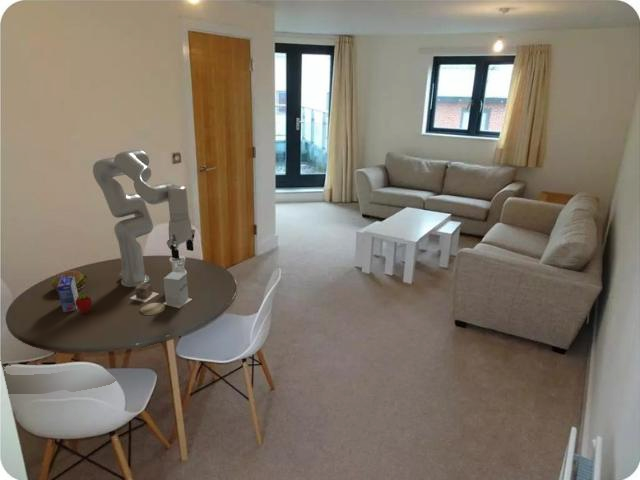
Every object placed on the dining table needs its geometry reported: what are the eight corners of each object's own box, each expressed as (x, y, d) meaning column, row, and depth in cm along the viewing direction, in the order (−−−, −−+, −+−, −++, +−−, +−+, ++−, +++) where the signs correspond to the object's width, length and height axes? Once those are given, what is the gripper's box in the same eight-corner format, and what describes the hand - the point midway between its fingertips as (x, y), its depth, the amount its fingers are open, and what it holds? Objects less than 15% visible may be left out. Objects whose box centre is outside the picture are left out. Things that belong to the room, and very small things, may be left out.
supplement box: (181, 306, 189) (178, 279, 185) (165, 304, 191) (162, 278, 186) (189, 298, 196) (186, 272, 192) (174, 296, 198) (171, 271, 193)
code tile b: (129, 298, 196) (129, 298, 195) (144, 290, 203) (144, 289, 203) (145, 302, 192) (145, 302, 192) (159, 294, 200) (159, 293, 200)
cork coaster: (135, 312, 184) (134, 311, 184) (151, 302, 193) (151, 301, 193) (153, 317, 181) (153, 316, 180) (170, 306, 189) (169, 305, 189)
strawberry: (77, 319, 178) (73, 297, 175) (77, 311, 184) (73, 289, 181) (94, 316, 181) (90, 294, 177) (93, 308, 187) (89, 287, 184)
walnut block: (136, 298, 196) (135, 288, 194) (142, 293, 200) (140, 283, 199) (146, 298, 195) (145, 288, 193) (152, 293, 200) (151, 284, 198)
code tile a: (162, 304, 191) (162, 303, 191) (176, 295, 199) (176, 295, 199) (179, 308, 188) (179, 307, 188) (192, 299, 196) (192, 298, 196)
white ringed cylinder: (182, 289, 205) (179, 260, 200) (169, 286, 207) (166, 257, 202) (190, 283, 211) (188, 254, 206) (178, 280, 213) (175, 252, 208)
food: (46, 294, 198) (43, 279, 195) (65, 281, 211) (62, 266, 208) (75, 296, 197) (72, 280, 194) (93, 282, 210) (90, 267, 207)
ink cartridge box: (65, 302, 192) (59, 272, 187) (79, 300, 193) (73, 270, 188) (62, 312, 183) (55, 281, 178) (76, 310, 185) (70, 279, 180)
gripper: (185, 209, 189) (188, 246, 195) (157, 220, 174) (162, 259, 180) (199, 211, 187) (202, 248, 193) (173, 223, 172) (177, 262, 177)
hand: (183, 254), depth 186 cm, fingers open, 9 cm apart
